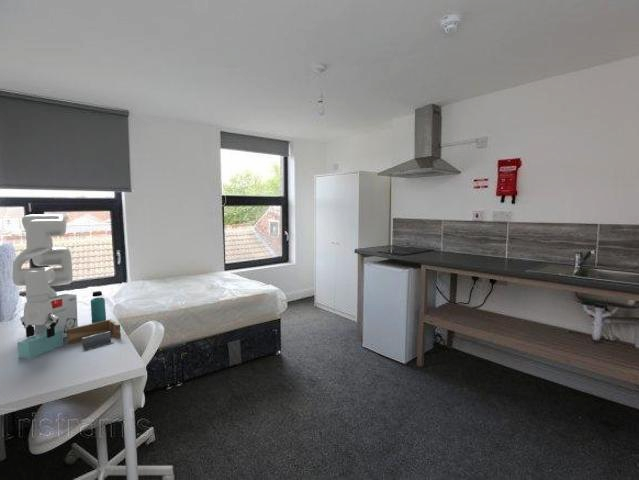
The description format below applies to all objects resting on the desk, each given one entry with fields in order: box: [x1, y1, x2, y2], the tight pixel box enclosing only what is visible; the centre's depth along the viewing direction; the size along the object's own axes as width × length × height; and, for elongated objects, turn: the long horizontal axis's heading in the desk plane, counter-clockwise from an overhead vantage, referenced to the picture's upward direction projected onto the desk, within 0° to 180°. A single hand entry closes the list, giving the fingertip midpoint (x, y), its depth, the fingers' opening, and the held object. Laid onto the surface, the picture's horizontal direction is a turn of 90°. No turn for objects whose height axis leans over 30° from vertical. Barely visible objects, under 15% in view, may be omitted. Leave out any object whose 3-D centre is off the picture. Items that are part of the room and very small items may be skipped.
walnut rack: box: [67, 319, 122, 345], centre depth 154 cm, size 12×18×7 cm
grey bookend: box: [81, 331, 115, 352], centre depth 149 cm, size 5×11×4 cm, turn 141°
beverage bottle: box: [90, 290, 107, 324], centre depth 169 cm, size 6×7×20 cm
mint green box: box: [16, 330, 64, 359], centre depth 143 cm, size 6×15×7 cm, turn 171°
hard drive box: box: [34, 293, 79, 339], centre depth 158 cm, size 16×8×20 cm, turn 168°
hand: (40, 336), depth 142 cm, fingers open, 9 cm apart
